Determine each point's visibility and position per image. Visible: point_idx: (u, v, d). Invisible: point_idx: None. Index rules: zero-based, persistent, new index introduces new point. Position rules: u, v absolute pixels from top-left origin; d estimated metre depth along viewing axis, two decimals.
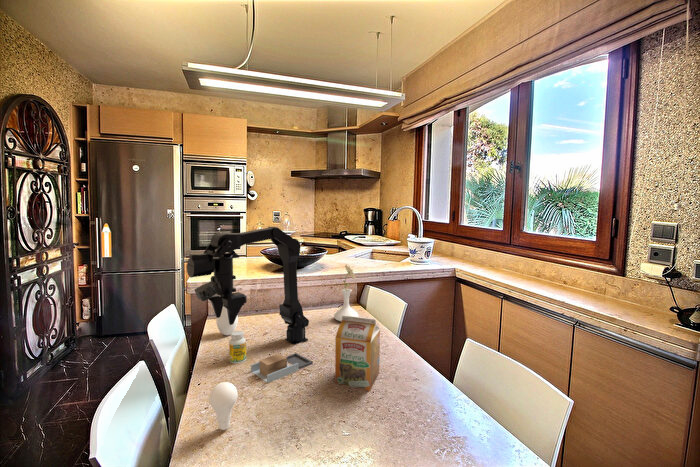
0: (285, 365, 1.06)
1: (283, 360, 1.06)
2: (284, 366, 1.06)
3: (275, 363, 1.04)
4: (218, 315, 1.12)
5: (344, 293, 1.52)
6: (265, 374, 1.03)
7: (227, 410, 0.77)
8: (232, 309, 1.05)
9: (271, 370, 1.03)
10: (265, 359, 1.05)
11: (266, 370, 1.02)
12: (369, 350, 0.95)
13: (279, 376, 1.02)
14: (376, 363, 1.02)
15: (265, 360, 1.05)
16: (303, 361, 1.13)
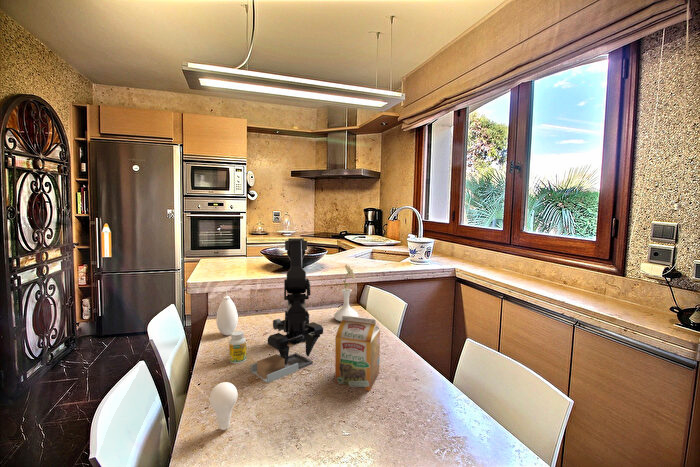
0: (283, 366, 1.06)
1: (281, 361, 1.05)
2: (282, 367, 1.05)
3: (273, 364, 1.03)
4: (307, 353, 1.15)
5: (344, 293, 1.52)
6: (262, 375, 1.02)
7: (227, 410, 0.77)
8: (281, 350, 1.08)
9: (269, 371, 1.02)
10: (262, 360, 1.04)
11: (264, 372, 1.01)
12: (369, 350, 0.95)
13: (279, 376, 1.02)
14: (376, 363, 1.02)
15: (262, 361, 1.04)
16: (303, 361, 1.13)
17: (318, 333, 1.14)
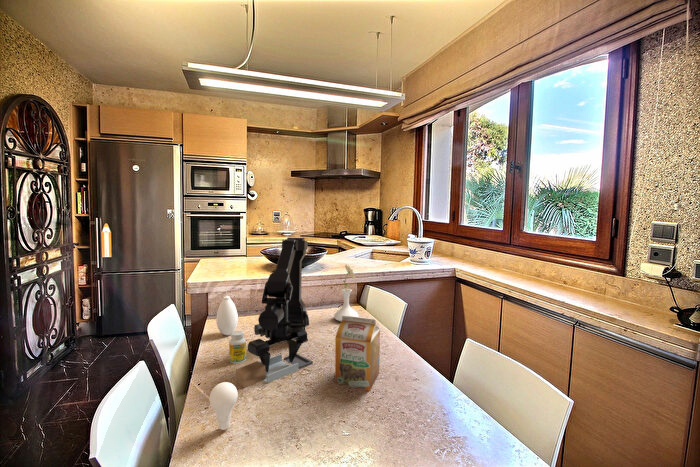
0: (263, 374, 1.01)
1: (261, 369, 1.00)
2: (262, 375, 1.01)
3: (252, 373, 0.98)
4: (290, 360, 1.10)
5: (344, 293, 1.52)
6: (242, 384, 0.97)
7: (227, 410, 0.77)
8: (262, 356, 1.03)
9: (248, 379, 0.97)
10: (242, 368, 1.00)
11: (243, 381, 0.97)
12: (369, 350, 0.95)
13: (279, 376, 1.02)
14: (376, 363, 1.02)
15: (242, 369, 0.99)
16: (303, 361, 1.13)
17: (302, 339, 1.09)
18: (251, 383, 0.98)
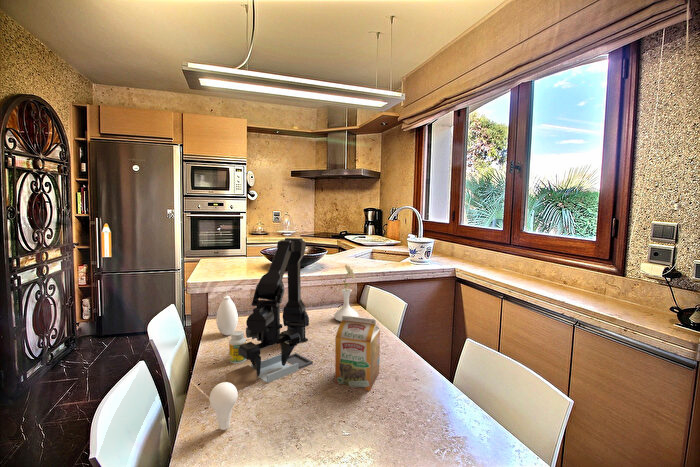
0: (254, 378, 0.99)
1: (252, 373, 0.98)
2: (253, 379, 0.99)
3: (243, 376, 0.96)
4: (282, 363, 1.08)
5: (344, 293, 1.52)
6: None
7: (227, 410, 0.77)
8: None
9: (238, 383, 0.95)
10: (232, 372, 0.98)
11: None
12: (369, 350, 0.95)
13: (279, 376, 1.02)
14: (376, 363, 1.02)
15: (232, 373, 0.97)
16: (303, 361, 1.13)
17: (294, 341, 1.07)
18: (241, 387, 0.96)
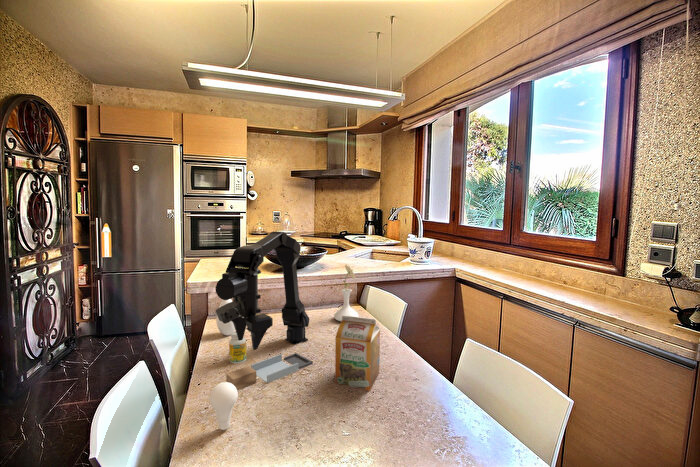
0: (254, 379, 0.99)
1: (252, 374, 0.98)
2: (253, 380, 0.98)
3: (242, 377, 0.96)
4: (240, 338, 1.02)
5: (344, 293, 1.52)
6: None
7: (227, 410, 0.77)
8: (256, 333, 0.94)
9: (238, 384, 0.95)
10: (232, 372, 0.98)
11: None
12: (369, 350, 0.95)
13: (279, 376, 1.02)
14: (376, 363, 1.02)
15: (232, 373, 0.97)
16: (303, 361, 1.13)
17: None
18: (240, 388, 0.96)
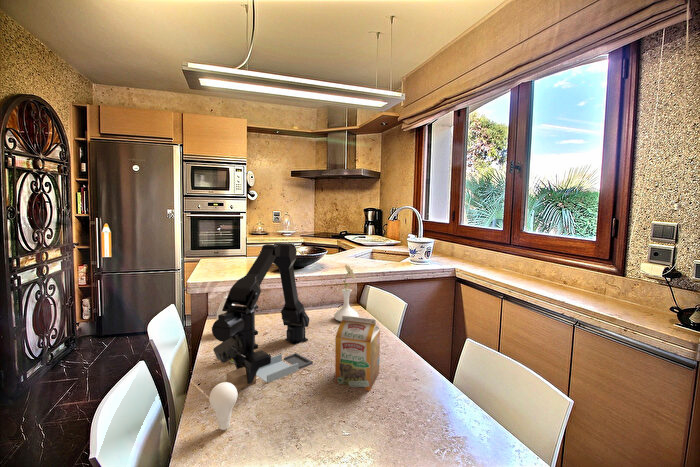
0: (254, 379, 0.98)
1: None
2: (253, 380, 0.98)
3: (241, 377, 0.96)
4: None
5: (344, 293, 1.52)
6: None
7: (226, 410, 0.77)
8: None
9: (237, 384, 0.95)
10: (232, 371, 0.98)
11: None
12: (369, 350, 0.95)
13: (279, 376, 1.02)
14: (376, 363, 1.02)
15: (232, 373, 0.97)
16: (303, 361, 1.13)
17: None
18: (240, 387, 0.96)
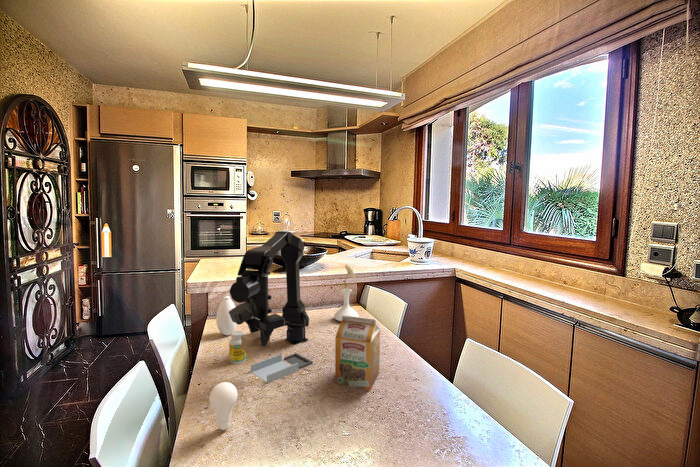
0: (268, 342, 1.01)
1: None
2: (267, 343, 1.01)
3: (256, 339, 0.99)
4: None
5: (344, 293, 1.52)
6: (245, 350, 0.98)
7: (226, 410, 0.77)
8: (265, 330, 0.99)
9: (252, 345, 0.98)
10: (247, 335, 1.01)
11: (246, 346, 0.97)
12: (369, 350, 0.95)
13: (279, 376, 1.02)
14: (376, 363, 1.02)
15: (247, 336, 1.00)
16: (303, 361, 1.13)
17: None
18: (254, 349, 0.99)
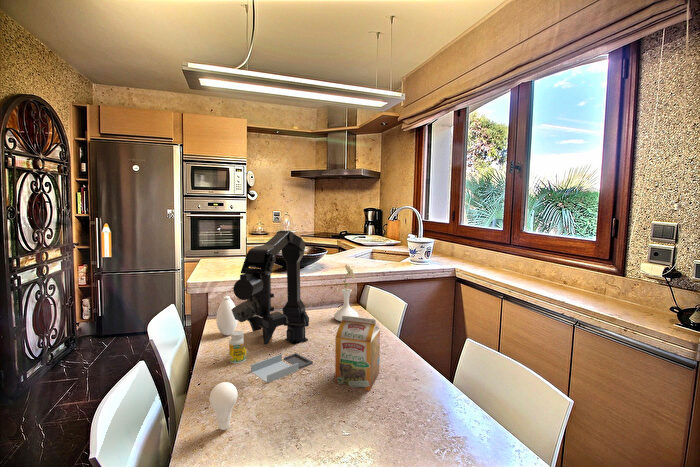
0: (270, 340, 1.02)
1: None
2: (269, 341, 1.01)
3: (258, 337, 0.99)
4: None
5: (344, 293, 1.52)
6: (248, 348, 0.98)
7: (227, 410, 0.77)
8: (267, 328, 0.99)
9: (254, 343, 0.98)
10: (249, 333, 1.01)
11: (249, 344, 0.98)
12: (369, 350, 0.95)
13: (279, 376, 1.02)
14: (376, 363, 1.02)
15: (249, 334, 1.00)
16: (303, 361, 1.13)
17: None
18: (257, 347, 0.99)
